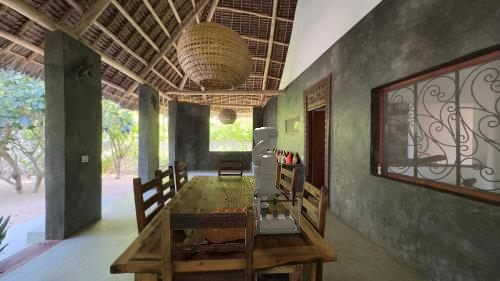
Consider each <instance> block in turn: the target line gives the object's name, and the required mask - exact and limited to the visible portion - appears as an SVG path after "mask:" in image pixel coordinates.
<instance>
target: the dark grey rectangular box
mask: <svg viewBox="0 0 500 281" xmlns="http://www.w3.org/2000/svg"><path fill="white" fill-rule="evenodd" d="M272 214H273V217H278V214H279V212H278V209H272Z"/></svg>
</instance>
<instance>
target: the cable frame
mask: <svg viewBox="0 0 500 281" xmlns="http://www.w3.org/2000/svg"><path fill="white" fill-rule="evenodd" d="M255 194H256V195H258V193H255ZM277 194H278V192H276V194H275V196H276V195H277ZM280 196H288V197H289V198H288V199H277V200H273V199H267V200H261V199H257V208H256V198H255V197H254V196H253V198H252V199H253V203H252V204H253V206H252V210H253V209H254V215H255V222H256V227H257V235H273V234H274V235H275V234H277V235H279V234H280V235H281V234H301V198H300V197H297V198H296V199H293V191H289V192H281V194H280ZM261 202H267V203H273V202H276V203H288V209H289V214H290V215H291V217H292V218H293V203H296V224H295V223H294V229H282V230H260V215H261V208H260V203H261Z"/></svg>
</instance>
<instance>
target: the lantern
mask: <svg viewBox="0 0 500 281" xmlns="http://www.w3.org/2000/svg"><path fill="white" fill-rule="evenodd" d="M182 213H191V214H192V212H191V211H190V210H188V211H183V212H182ZM202 229H203V228H202ZM202 229H194V228H193V231H194V239H195V243H193V244H205V245H208V243H209V240H204V235H203V234H204V233H203V230H202Z"/></svg>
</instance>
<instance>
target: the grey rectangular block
mask: <svg viewBox="0 0 500 281" xmlns="http://www.w3.org/2000/svg"><path fill="white" fill-rule="evenodd" d="M260 215H261V217H267V215H268V214H267V210H266V209H260Z"/></svg>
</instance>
